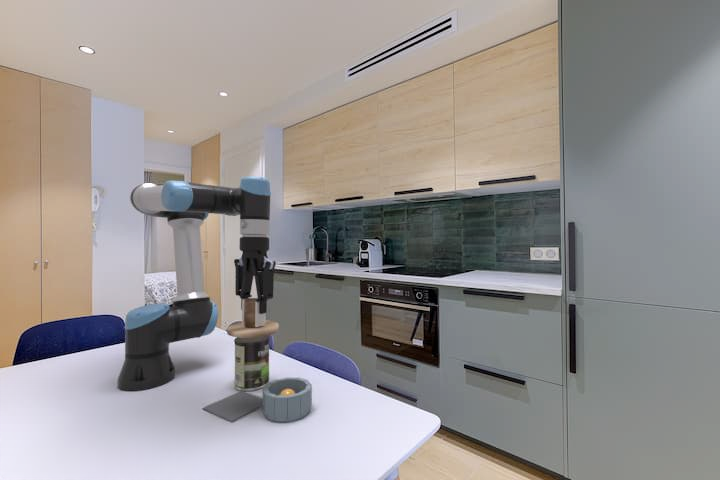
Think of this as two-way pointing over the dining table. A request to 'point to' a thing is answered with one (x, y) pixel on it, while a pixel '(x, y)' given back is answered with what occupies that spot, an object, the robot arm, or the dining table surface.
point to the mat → (235, 406)
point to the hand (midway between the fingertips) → (253, 324)
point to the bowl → (287, 399)
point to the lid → (251, 324)
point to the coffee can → (251, 363)
